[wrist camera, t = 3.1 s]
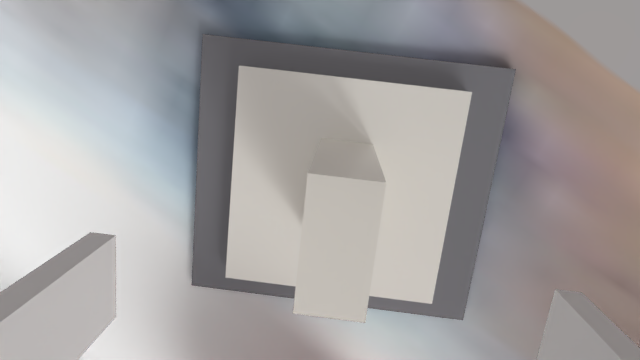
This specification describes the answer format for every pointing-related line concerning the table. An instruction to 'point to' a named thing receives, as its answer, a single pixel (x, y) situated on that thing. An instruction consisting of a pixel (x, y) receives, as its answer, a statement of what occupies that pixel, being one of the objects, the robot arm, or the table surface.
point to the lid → (342, 187)
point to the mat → (482, 81)
